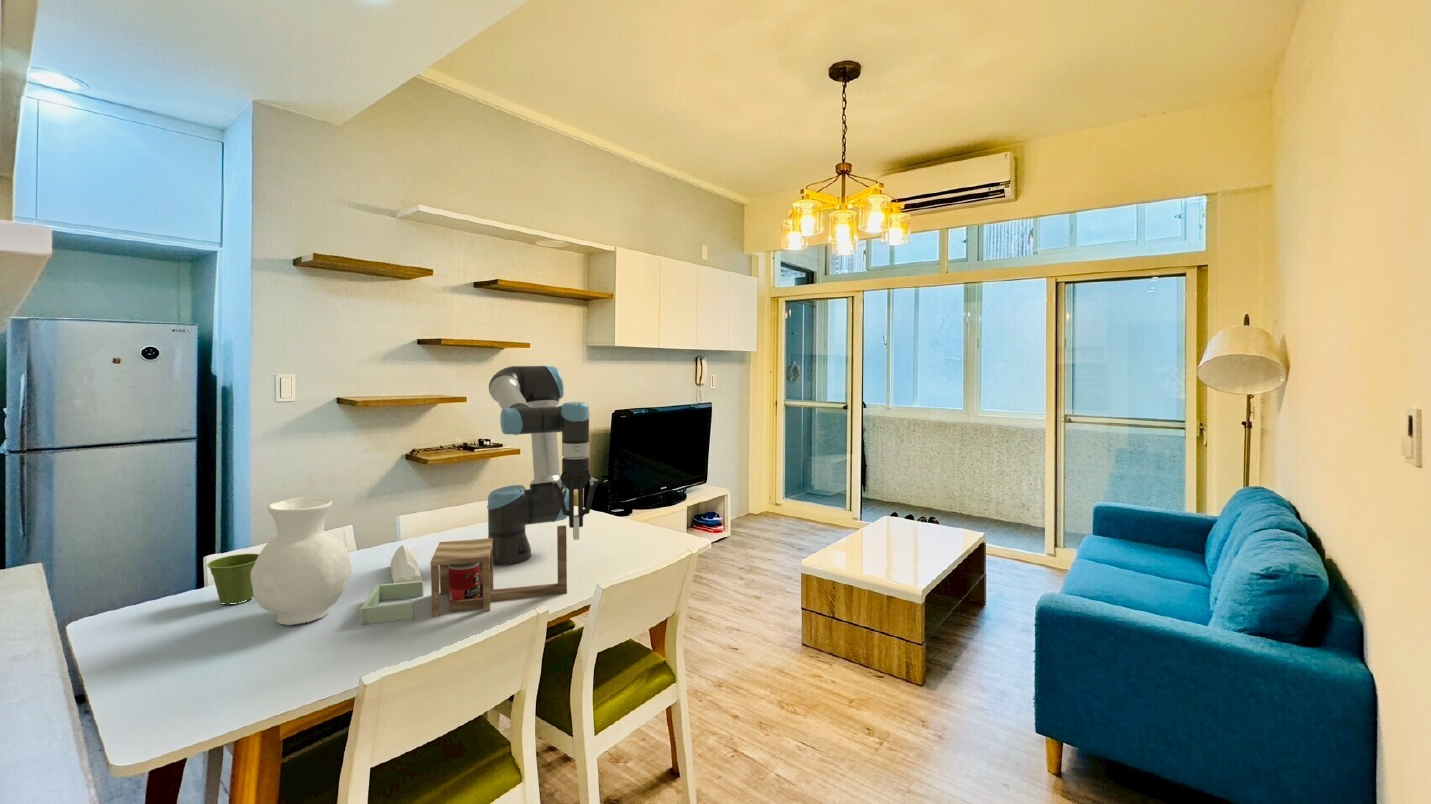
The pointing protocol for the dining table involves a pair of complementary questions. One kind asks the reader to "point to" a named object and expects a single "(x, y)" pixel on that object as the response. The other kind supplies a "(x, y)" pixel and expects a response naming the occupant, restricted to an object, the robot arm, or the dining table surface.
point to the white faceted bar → (404, 566)
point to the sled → (527, 590)
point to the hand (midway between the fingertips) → (576, 538)
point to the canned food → (464, 581)
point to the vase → (300, 563)
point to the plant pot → (233, 577)
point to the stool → (456, 555)
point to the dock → (390, 611)
